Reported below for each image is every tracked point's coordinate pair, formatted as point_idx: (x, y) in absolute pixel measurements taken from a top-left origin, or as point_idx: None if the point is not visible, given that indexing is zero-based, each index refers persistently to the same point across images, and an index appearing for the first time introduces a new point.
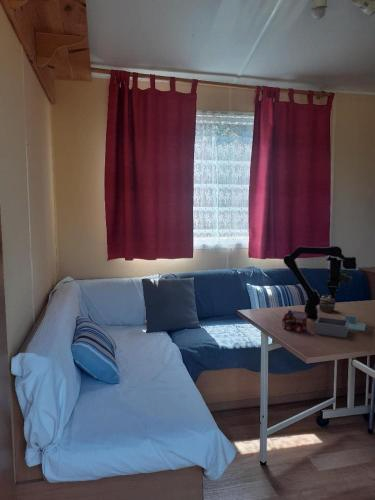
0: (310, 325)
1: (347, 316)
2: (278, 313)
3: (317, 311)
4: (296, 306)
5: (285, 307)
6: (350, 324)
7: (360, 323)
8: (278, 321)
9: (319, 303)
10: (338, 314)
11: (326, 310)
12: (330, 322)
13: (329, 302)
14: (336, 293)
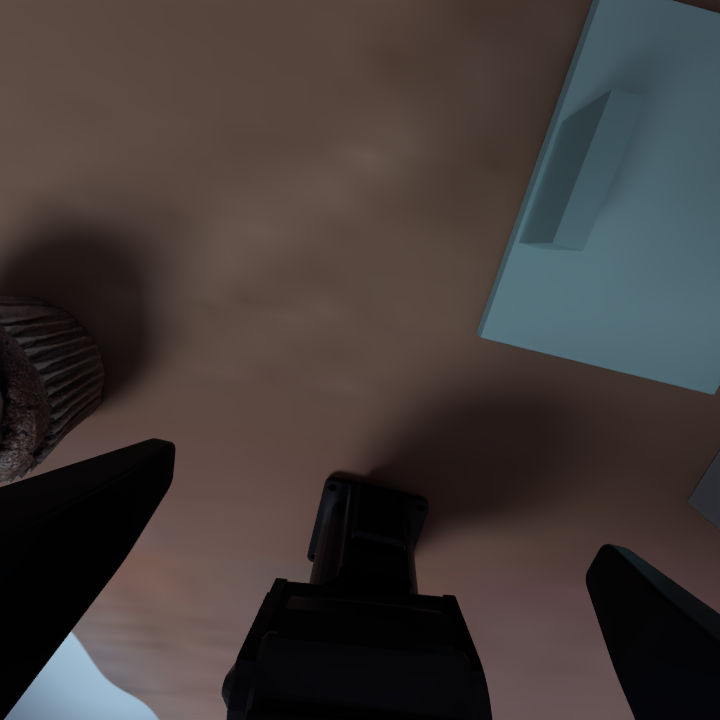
0: None
1: (590, 225)
2: None
3: (386, 529)
4: None
5: (108, 657)
6: (638, 205)
7: (588, 61)
8: (522, 715)
9: (17, 476)
10: (156, 264)
11: (94, 379)
12: None
13: (3, 389)
14: (148, 464)
